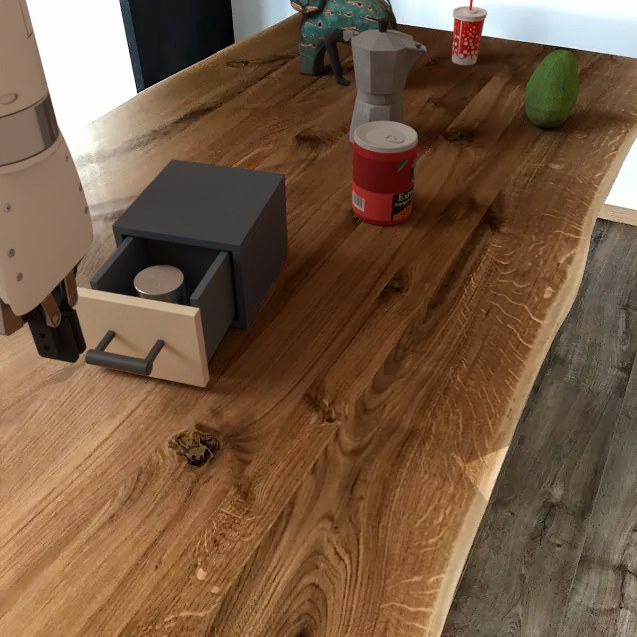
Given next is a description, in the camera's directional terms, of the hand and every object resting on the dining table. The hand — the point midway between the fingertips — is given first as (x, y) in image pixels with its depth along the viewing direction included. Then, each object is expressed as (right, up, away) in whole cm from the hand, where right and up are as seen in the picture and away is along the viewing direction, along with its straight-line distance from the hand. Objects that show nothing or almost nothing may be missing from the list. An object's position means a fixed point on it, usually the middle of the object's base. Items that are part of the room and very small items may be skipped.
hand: (63, 353), depth 56 cm
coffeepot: (+28, +31, +58) cm, 71 cm away
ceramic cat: (+24, +46, +76) cm, 92 cm away
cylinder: (+4, +1, +19) cm, 20 cm away
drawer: (+4, 0, +19) cm, 19 cm away
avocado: (+55, +33, +61) cm, 89 cm away
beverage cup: (+47, +51, +82) cm, 108 cm away
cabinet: (+7, +7, +29) cm, 31 cm away
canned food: (+28, +17, +41) cm, 52 cm away
